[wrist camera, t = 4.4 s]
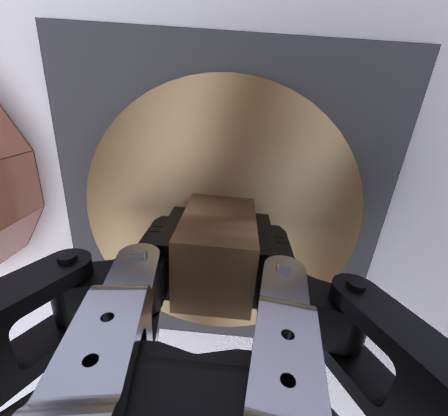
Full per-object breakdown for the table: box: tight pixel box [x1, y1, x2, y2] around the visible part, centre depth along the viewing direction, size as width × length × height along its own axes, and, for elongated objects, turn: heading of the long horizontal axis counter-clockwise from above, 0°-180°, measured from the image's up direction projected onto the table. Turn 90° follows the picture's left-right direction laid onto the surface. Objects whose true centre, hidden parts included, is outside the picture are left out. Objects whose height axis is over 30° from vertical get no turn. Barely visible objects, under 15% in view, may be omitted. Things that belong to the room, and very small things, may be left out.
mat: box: [35, 17, 441, 338], centre depth 14 cm, size 16×16×1 cm
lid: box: [86, 72, 363, 327], centre depth 11 cm, size 13×13×5 cm
